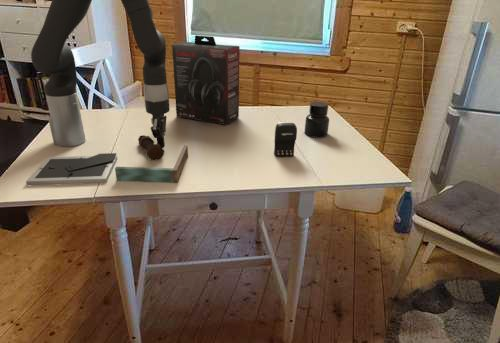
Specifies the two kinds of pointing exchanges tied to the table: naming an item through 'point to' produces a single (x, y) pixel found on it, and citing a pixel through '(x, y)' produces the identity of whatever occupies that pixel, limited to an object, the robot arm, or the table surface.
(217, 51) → the headset box
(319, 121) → the ink bottle
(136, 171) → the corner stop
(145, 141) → the bolt
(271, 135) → the table surface
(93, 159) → the picture frame
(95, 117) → the table surface
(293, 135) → the battery charger
